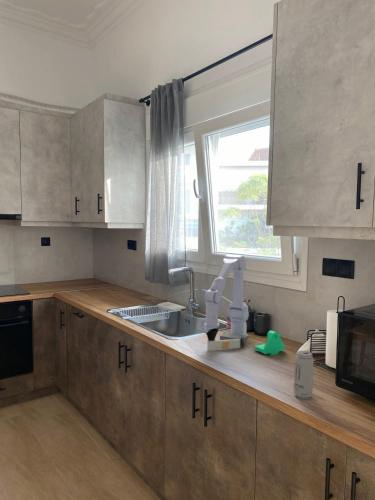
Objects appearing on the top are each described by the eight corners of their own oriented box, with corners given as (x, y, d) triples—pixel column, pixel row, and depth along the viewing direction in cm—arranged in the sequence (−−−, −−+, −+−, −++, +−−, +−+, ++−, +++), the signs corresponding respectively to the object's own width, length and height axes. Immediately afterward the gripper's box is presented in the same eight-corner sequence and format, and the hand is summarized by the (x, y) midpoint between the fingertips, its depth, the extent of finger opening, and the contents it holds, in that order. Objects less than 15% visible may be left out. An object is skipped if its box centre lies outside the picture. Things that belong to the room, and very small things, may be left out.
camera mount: (272, 347, 186) (273, 326, 185) (284, 352, 179) (285, 330, 178) (253, 351, 179) (254, 329, 179) (265, 356, 173) (265, 333, 172)
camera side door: (207, 350, 179) (207, 341, 178) (239, 347, 183) (239, 338, 183) (207, 350, 177) (208, 341, 177) (240, 348, 182) (241, 339, 182)
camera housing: (225, 341, 194) (225, 332, 194) (246, 344, 189) (246, 335, 189) (219, 344, 188) (219, 335, 188) (241, 348, 183) (241, 339, 182)
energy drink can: (290, 393, 134) (292, 351, 133) (305, 391, 136) (306, 349, 135) (300, 401, 128) (302, 356, 127) (315, 398, 130) (317, 355, 129)
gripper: (210, 311, 188) (209, 339, 189) (197, 317, 175) (196, 346, 176) (223, 313, 185) (223, 341, 186) (211, 319, 172) (211, 349, 173)
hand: (211, 344), depth 181 cm, fingers closed
